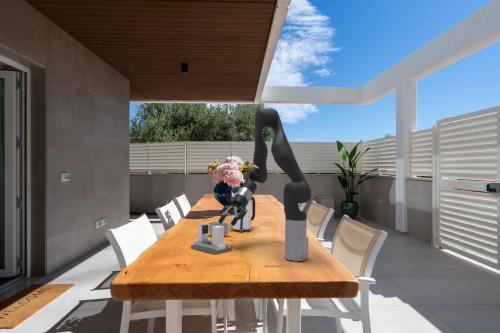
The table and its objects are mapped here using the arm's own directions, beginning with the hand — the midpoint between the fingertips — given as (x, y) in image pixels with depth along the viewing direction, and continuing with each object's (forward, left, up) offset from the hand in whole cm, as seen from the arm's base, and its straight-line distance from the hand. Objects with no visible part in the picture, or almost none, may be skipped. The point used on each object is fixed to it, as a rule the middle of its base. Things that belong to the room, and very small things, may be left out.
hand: (225, 223), depth 168 cm
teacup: (+24, -19, -12) cm, 33 cm away
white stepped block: (0, +5, -11) cm, 12 cm away
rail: (+5, +5, -12) cm, 14 cm away
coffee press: (+28, -41, -12) cm, 52 cm away
